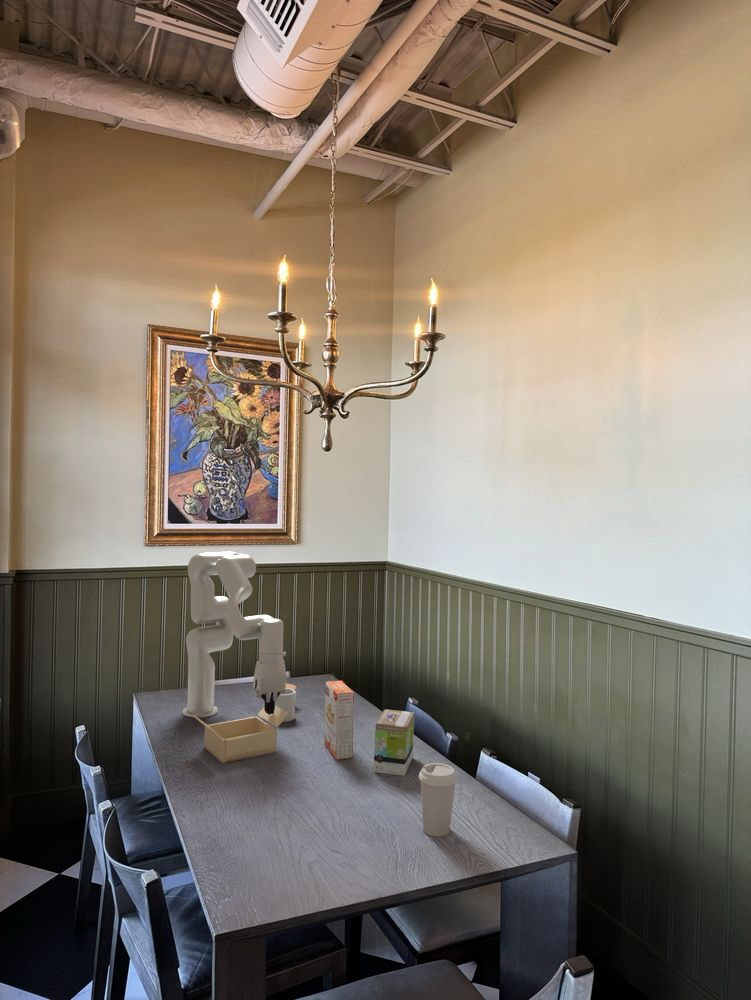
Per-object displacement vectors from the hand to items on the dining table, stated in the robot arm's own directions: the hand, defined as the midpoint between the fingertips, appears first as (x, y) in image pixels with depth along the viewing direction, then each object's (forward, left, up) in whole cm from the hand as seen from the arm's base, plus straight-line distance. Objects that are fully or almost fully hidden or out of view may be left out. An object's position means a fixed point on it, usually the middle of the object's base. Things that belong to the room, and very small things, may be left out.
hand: (269, 712), depth 219 cm
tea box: (+35, +25, -10) cm, 44 cm away
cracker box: (+17, +16, -10) cm, 26 cm away
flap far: (0, +1, 0) cm, 1 cm away
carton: (0, -10, -10) cm, 14 cm away
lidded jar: (-32, +21, -10) cm, 40 cm away
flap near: (0, -21, -1) cm, 21 cm away
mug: (-21, +14, -10) cm, 27 cm away
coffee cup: (+73, +10, -10) cm, 74 cm away
